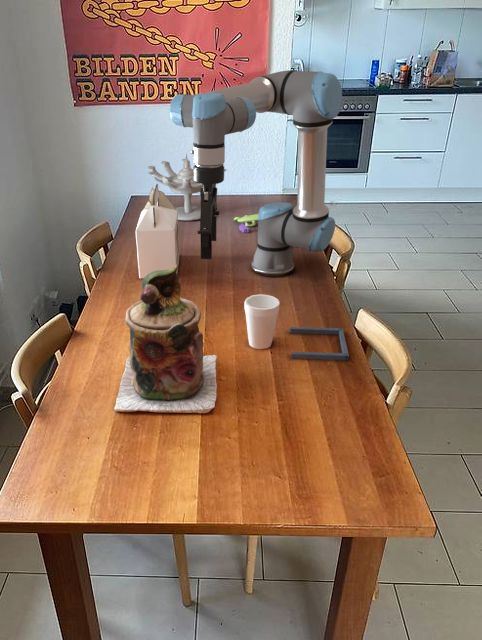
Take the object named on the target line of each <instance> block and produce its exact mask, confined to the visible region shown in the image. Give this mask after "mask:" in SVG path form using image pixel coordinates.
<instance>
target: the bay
mask: <svg viewBox="0 0 482 640" xmlns="http://www.w3.org/2000/svg"><path fill="white" fill-rule="evenodd" d="M289 334H301V335H303V334H304V335H332V336H333V335H335V336H338V339H339V345H340V348H341V352H315V351H314V352H313V351H310V352H309V351H291V354H290V358H291V359H293V360H294V359H297V360H322V361H324V360H325V361H349V358H350V354H349V350H348V345H347V341H346V337H345V332H344V329H343V327H341V328H340V327H339V328H337V327H306V326H305V327H304V326H302V327H301V326H289Z"/></svg>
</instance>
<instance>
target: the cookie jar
mask: <svg viewBox="0 0 482 640" xmlns="http://www.w3.org/2000/svg"><path fill="white" fill-rule="evenodd" d="M177 267H178V268H179V264H178V265H175V266H174V268H173V269H171V270H158V271H153V272H151V273H149V274H147V275H146V276H145V277H144V279H142V282H141V288H142V292H141V293H140V296H139V298H140V300H139V301H136V302H135V303H134V304H132V305H131V306H130V307H129V308H127V309H126V311H125V319H124V320H125V325H126V326H127V327H128V329H129V334H130V335H129V343H128V353H129V356H128V357H127V358H126V360H125V366H124V371H123V373H122V376H121V379H120V382H119V389H118V393H117V396H116V401H115V406H114V411H115V412H125V413H129V412H151V413H193V414H194V413H195V414H196V413H198V414H207V413H209V412H211V410H213V409H214V408H215V405H216V401H217V397H218V395H217V393H218V392H217V388H218V384H217V359H218V356H217V355H216V354H210V355H209V354H208V355H204V334H203V333H202V332H201V331H200V329H199V324H200V321H201V319H202V311H201V308H200V307H199V306H198V305H197V303H195V302H194V301H192V300H190V299H187V298H183V297H181V296H180V295H181V290H182V283H181V282H180V281H179V279H180V277H179V275H178V272H177V273H176V271H177Z"/></svg>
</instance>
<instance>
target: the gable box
mask: <svg viewBox="0 0 482 640" xmlns="http://www.w3.org/2000/svg"><path fill="white" fill-rule="evenodd" d="M149 193H150V194H149V197H148V200H147V202H146V203H145V205H144V208H143V209H142V210H141V212H140V214H139V217H138V222H137V226H136V228H135V241H136V243H135V244H136V253H137V267H138V277H139V279H141V280H143V279H144V277H145V276H146V275H147V274H149V273H151V272H153V271H158V270H171V269H173V268H174V266H175V265H178V267H177V271H176V273H177V274H178V271H179V261H180V239H179V238H180V237H179V220H178V211H177V210H176V209H175V208H176V207H175V205H173V203H172V202H171V200H170V198H168V196H167V195H166V193H164V191H161V190H159V183H156V184H155V188H154V186H152V187H151V190H150V192H149Z"/></svg>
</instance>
